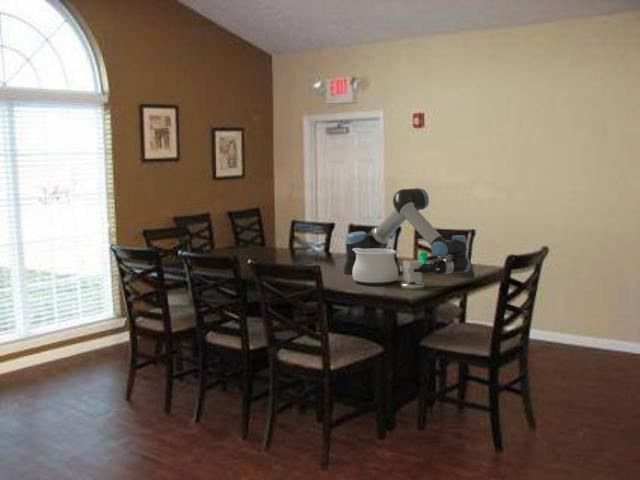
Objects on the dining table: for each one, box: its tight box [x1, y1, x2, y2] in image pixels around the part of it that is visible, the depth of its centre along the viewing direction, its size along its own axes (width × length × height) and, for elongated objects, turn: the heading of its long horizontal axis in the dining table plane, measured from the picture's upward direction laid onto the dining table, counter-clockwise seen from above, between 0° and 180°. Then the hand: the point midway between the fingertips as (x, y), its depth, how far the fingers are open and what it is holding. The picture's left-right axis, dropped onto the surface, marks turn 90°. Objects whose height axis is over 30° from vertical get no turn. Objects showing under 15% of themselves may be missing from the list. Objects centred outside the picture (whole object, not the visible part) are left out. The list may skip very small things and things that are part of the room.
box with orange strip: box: [402, 259, 423, 282], centre depth 367 cm, size 7×7×11 cm
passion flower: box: [436, 255, 452, 260], centre depth 459 cm, size 11×11×12 cm
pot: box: [351, 248, 400, 286], centre depth 384 cm, size 28×24×17 cm
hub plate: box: [400, 281, 425, 290], centre depth 368 cm, size 12×12×8 cm
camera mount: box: [417, 251, 430, 264], centre depth 432 cm, size 12×8×10 cm, turn 14°
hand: (404, 269), depth 365 cm, fingers closed on box with orange strip, 7 cm apart
